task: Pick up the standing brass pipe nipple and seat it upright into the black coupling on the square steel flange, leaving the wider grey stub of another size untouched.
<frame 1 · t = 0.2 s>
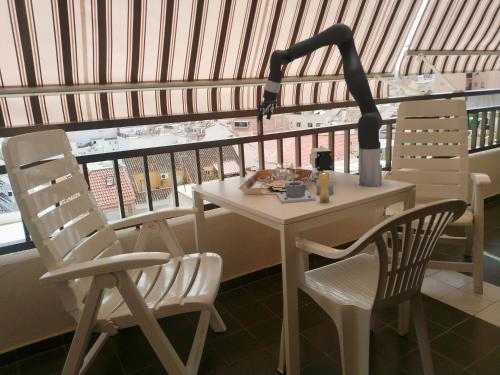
hand: (263, 119, 202), 31 cm above the table, tool tilted 20°, fingers open, 8 cm apart
plant saucer: (287, 188, 182), on the table
grey wide stub: (325, 193, 167), on the table
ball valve: (320, 181, 192), on the table
flange coupling: (295, 197, 163), on the table
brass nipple: (324, 201, 154), on the table
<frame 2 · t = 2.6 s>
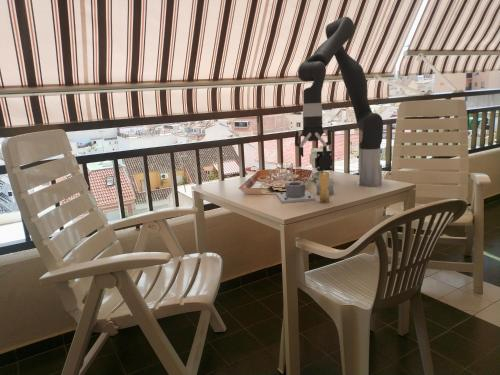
hand: (313, 156, 152), 19 cm above the table, tool pointing down, fingers open, 8 cm apart
nothing on the table moved.
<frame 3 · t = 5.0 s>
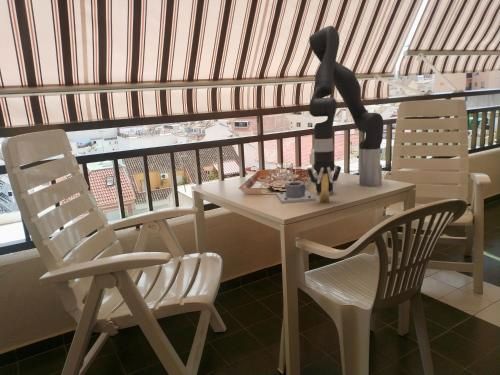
hand: (324, 191, 153), 4 cm above the table, tool pointing down, fingers closed on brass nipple, 3 cm apart
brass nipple: (324, 201, 154), on the table, touching gripper
everything else where it was.
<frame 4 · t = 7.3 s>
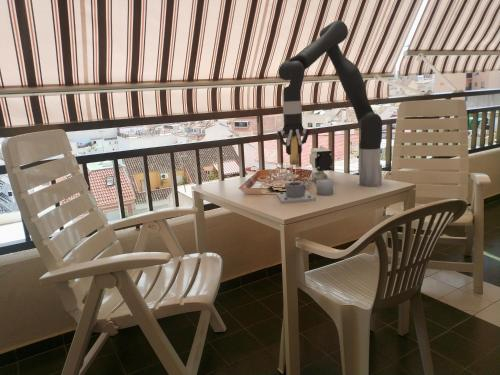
hand: (293, 154, 159), 19 cm above the table, tool pointing down, fingers closed on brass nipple, 3 cm apart
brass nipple: (294, 164, 160), point 15 cm above the table, touching gripper
everything else where it was.
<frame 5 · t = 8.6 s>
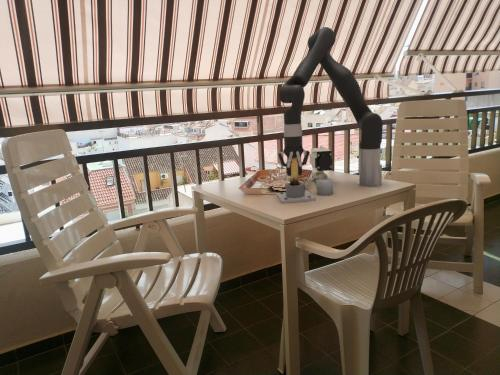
hand: (294, 175, 161), 10 cm above the table, tool pointing down, fingers closed on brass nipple, 3 cm apart
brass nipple: (294, 184, 162), point 6 cm above the table, touching gripper
everything else where it was.
when the fingers open (7 cm above the table, at t = 9.4 s): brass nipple drops 2 cm, resting on flange coupling.
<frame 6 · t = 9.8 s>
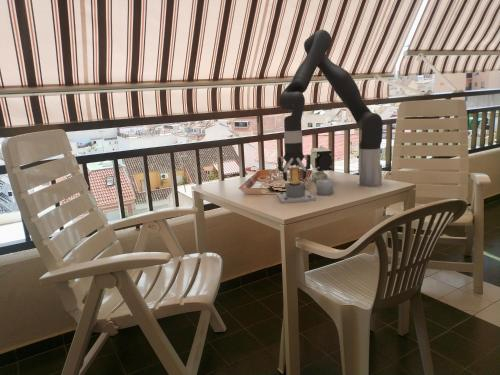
hand: (294, 179, 161), 8 cm above the table, tool pointing down, fingers open, 7 cm apart
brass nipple: (295, 195, 163), point 1 cm above the table, touching flange coupling
everything else where it was.
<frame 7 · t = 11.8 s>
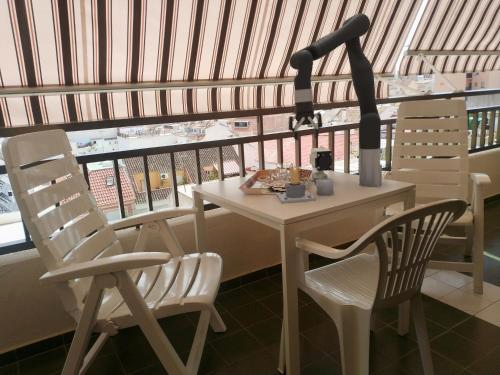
hand: (306, 139, 163), 24 cm above the table, tool pointing down, fingers open, 8 cm apart
nothing on the table moved.
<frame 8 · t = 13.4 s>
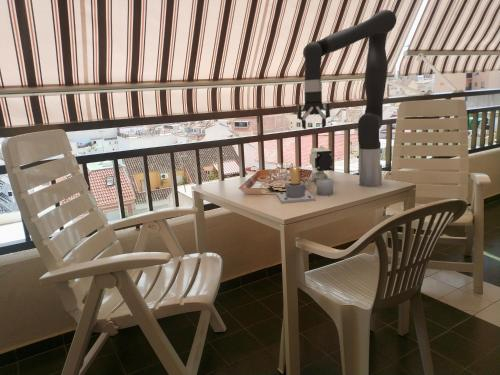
hand: (313, 128, 169), 28 cm above the table, tool pointing down, fingers open, 8 cm apart
nothing on the table moved.
at the end: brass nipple 0.1 cm off-centre on the flange coupling, point 1.0 cm above the flange coupling's base; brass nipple tilted 0°; the gripper is holding nothing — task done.
